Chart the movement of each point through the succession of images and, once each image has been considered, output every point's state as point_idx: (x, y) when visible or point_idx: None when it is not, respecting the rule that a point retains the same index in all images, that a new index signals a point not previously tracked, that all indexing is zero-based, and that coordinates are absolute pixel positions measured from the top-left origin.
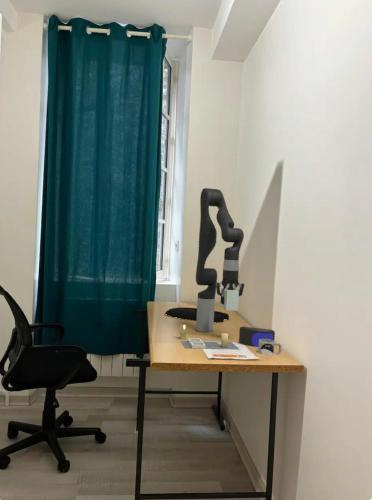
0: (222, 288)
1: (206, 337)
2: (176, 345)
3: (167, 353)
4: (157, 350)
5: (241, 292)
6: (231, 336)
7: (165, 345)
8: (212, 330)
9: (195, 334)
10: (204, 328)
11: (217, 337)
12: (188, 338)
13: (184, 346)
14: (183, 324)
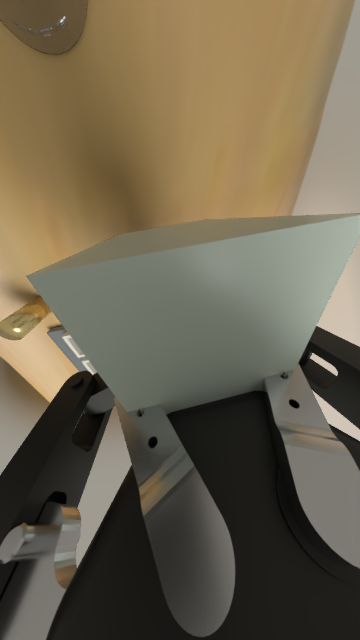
0: (91, 335)
1: (93, 218)
2: (47, 338)
3: (60, 385)
4: (31, 377)
5: (311, 376)
6: (183, 171)
7: (22, 345)
8: (85, 4)
9: (28, 156)
10: (33, 35)
11: (132, 208)
12: (65, 338)
13: (77, 367)
14: (3, 324)
